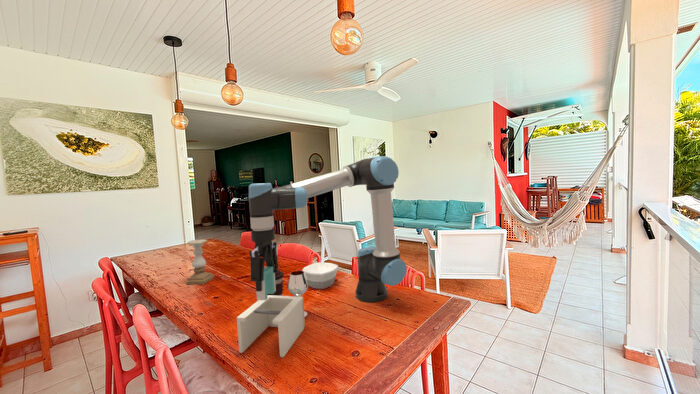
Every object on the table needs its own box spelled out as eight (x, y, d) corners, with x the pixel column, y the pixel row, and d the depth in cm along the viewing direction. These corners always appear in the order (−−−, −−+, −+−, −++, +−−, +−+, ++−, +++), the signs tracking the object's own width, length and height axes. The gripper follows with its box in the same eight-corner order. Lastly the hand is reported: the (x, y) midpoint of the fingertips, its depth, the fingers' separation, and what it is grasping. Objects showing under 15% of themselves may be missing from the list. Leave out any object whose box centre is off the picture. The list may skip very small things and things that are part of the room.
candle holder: (204, 284, 158) (201, 242, 156) (185, 285, 158) (182, 243, 157) (214, 277, 169) (211, 238, 167) (196, 278, 169) (193, 239, 168)
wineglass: (300, 321, 111) (297, 277, 109) (285, 317, 115) (282, 274, 114) (313, 313, 117) (311, 271, 116) (299, 309, 122) (296, 268, 121)
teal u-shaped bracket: (274, 292, 98) (273, 266, 97) (265, 300, 92) (263, 272, 91) (268, 291, 98) (266, 266, 98) (258, 299, 92) (257, 272, 92)
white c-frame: (304, 327, 106) (303, 297, 105) (283, 357, 89) (281, 320, 88) (267, 324, 110) (265, 294, 109) (239, 352, 92) (236, 317, 91)
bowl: (344, 281, 152) (343, 264, 152) (324, 293, 137) (323, 275, 137) (318, 276, 162) (317, 260, 161) (297, 287, 147) (296, 270, 146)
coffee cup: (279, 307, 124) (277, 274, 123) (259, 306, 126) (257, 274, 125) (288, 298, 134) (286, 267, 133) (269, 297, 136) (267, 267, 135)
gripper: (267, 224, 104) (270, 284, 105) (234, 234, 85) (239, 307, 87) (285, 224, 102) (289, 285, 104) (256, 234, 83) (261, 309, 85)
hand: (266, 295), depth 95 cm, fingers closed on teal u-shaped bracket, 6 cm apart
